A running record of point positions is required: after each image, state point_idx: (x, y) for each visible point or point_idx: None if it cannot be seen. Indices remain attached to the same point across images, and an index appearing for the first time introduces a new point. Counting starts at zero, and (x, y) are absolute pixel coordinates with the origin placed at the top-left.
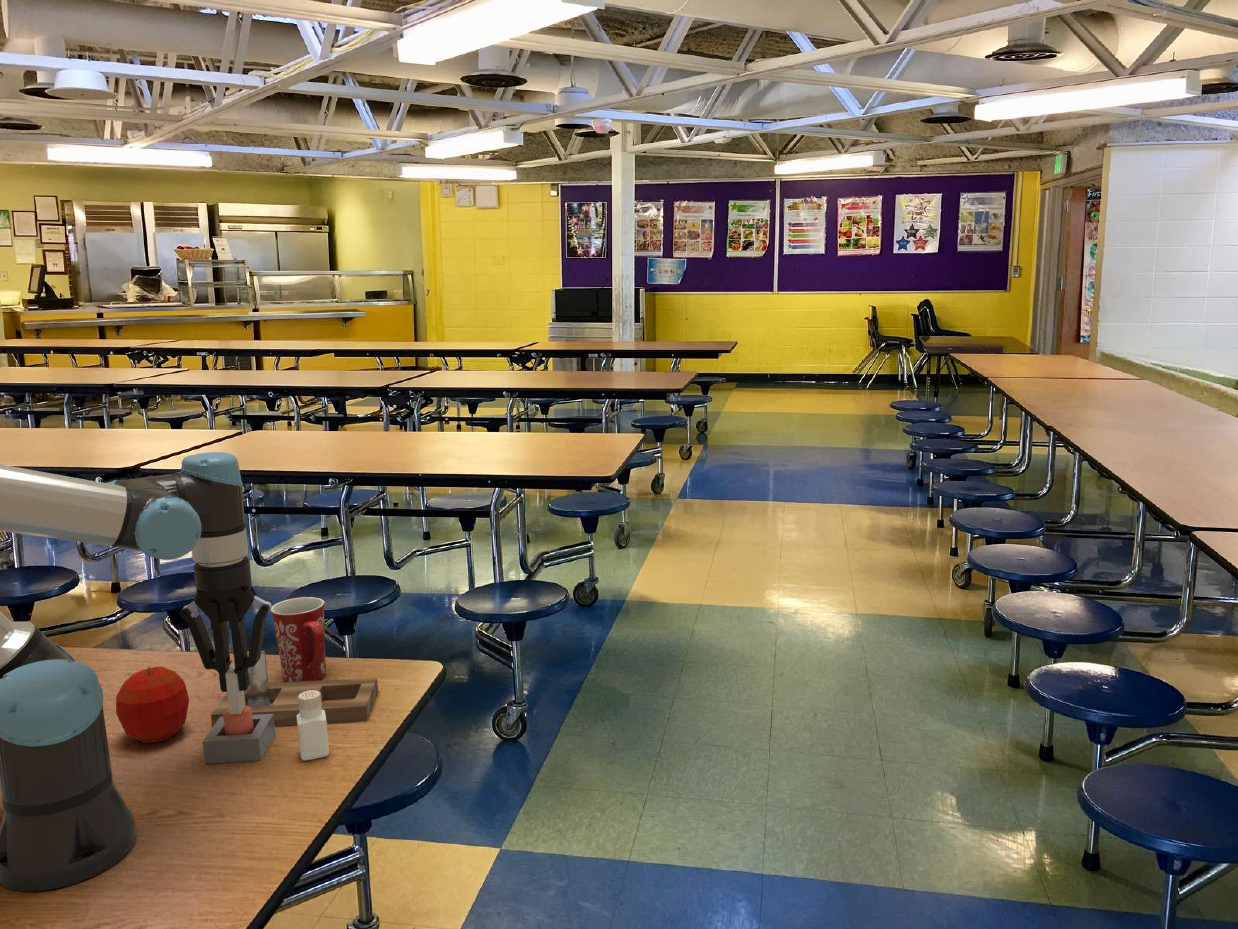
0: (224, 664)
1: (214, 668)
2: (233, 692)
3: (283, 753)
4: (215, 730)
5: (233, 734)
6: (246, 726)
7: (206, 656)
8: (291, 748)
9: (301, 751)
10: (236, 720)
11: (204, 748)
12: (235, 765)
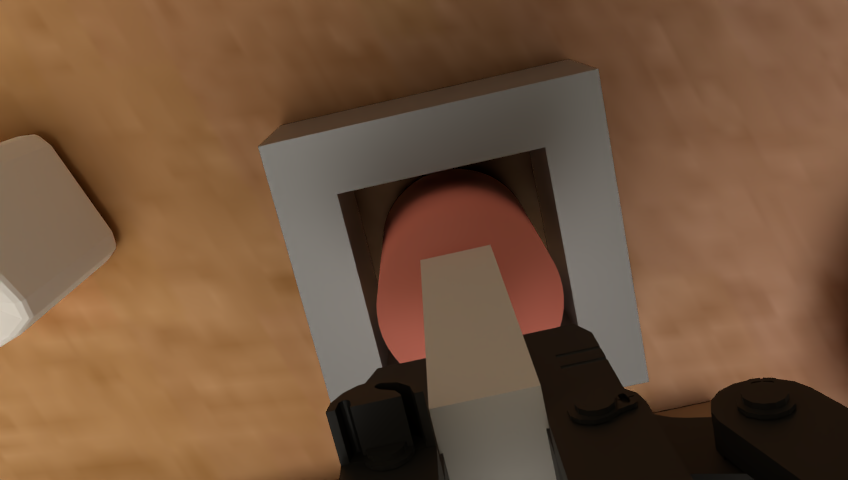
0: (565, 452)
1: (693, 428)
2: (460, 315)
3: (203, 210)
4: (589, 216)
5: (455, 190)
6: (388, 241)
7: (841, 475)
8: (190, 264)
9: (17, 142)
10: (431, 218)
11: (581, 67)
12: (393, 62)
